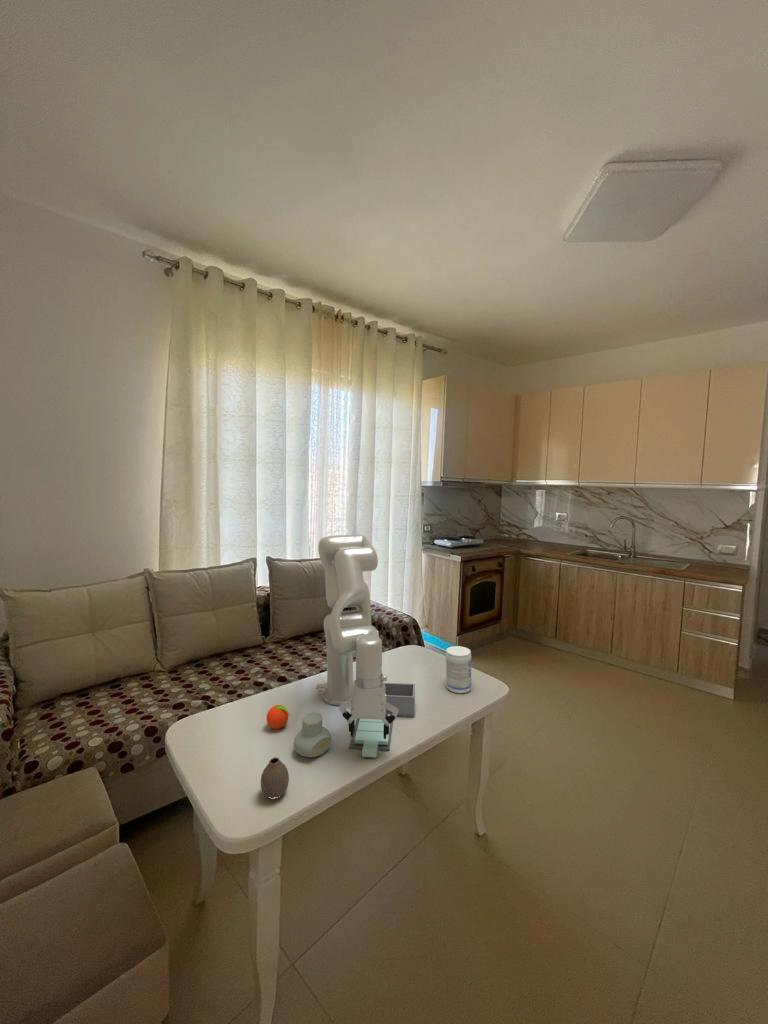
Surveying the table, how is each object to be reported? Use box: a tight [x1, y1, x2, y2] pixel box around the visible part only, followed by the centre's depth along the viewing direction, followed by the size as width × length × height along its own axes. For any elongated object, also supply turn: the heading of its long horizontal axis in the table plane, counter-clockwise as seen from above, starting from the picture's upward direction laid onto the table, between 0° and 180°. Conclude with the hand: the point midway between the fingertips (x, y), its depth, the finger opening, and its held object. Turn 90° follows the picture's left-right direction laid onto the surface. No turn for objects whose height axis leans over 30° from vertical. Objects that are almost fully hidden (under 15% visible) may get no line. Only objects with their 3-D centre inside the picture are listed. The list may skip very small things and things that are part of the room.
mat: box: [348, 718, 394, 752], centre depth 125 cm, size 12×16×1 cm
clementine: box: [266, 704, 291, 730], centre depth 128 cm, size 8×7×7 cm
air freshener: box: [293, 712, 332, 758], centre depth 116 cm, size 11×8×10 cm
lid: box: [355, 714, 391, 758], centre depth 122 cm, size 19×10×2 cm, turn 175°
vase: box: [260, 756, 290, 798], centre depth 100 cm, size 7×7×9 cm
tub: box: [385, 682, 416, 718], centre depth 138 cm, size 13×9×7 cm
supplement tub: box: [445, 645, 472, 694], centre depth 152 cm, size 10×10×15 cm
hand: (368, 734), depth 116 cm, fingers open, 9 cm apart
